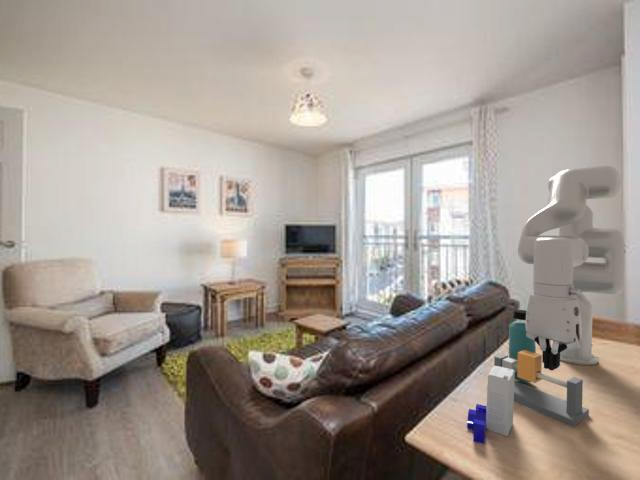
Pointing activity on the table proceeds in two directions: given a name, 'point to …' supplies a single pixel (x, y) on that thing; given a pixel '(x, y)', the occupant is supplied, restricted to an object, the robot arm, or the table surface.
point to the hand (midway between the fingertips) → (550, 368)
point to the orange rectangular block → (529, 365)
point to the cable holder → (477, 423)
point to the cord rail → (548, 396)
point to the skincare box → (500, 400)
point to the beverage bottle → (519, 338)
